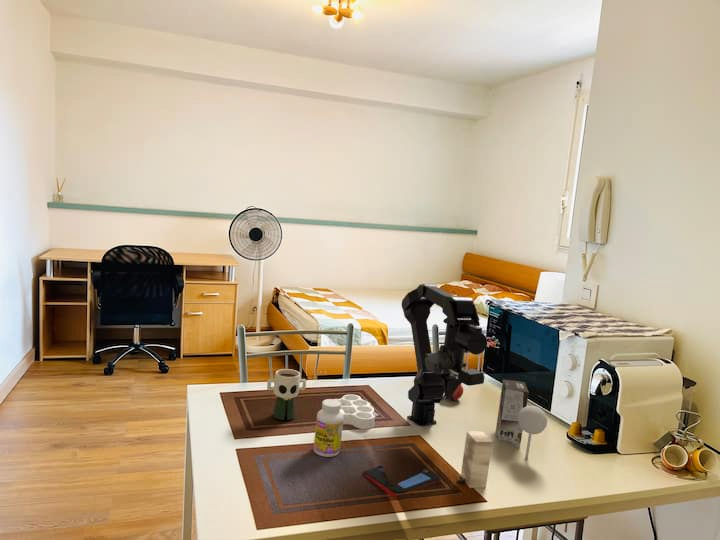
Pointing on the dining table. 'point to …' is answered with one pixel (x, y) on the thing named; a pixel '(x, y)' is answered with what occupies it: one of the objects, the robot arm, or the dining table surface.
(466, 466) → the white rectangular box
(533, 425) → the lollipop
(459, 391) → the pomegranate
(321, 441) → the supplement bottle
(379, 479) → the game console
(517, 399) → the coffee box
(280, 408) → the character mug
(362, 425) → the white cup cluster
